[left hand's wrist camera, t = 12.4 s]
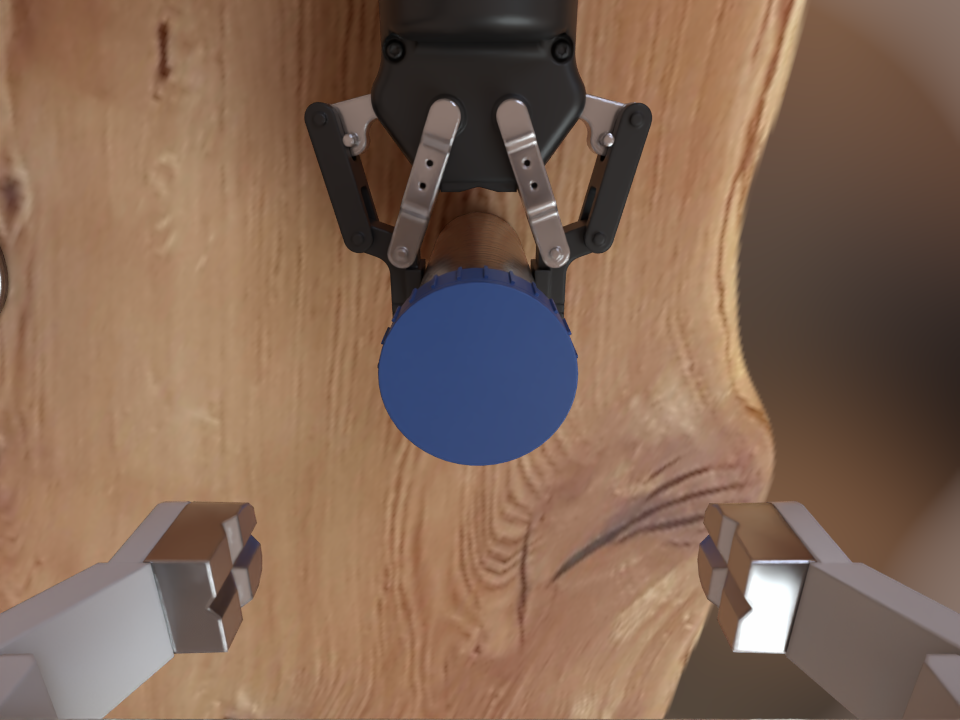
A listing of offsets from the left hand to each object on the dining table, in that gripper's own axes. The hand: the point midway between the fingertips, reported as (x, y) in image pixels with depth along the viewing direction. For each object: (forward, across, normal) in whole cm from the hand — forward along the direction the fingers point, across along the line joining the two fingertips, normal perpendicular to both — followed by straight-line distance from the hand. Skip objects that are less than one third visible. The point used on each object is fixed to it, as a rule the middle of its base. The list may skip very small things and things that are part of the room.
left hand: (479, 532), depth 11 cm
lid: (+7, 0, 0) cm, 7 cm away
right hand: (+17, 0, -3) cm, 18 cm away
